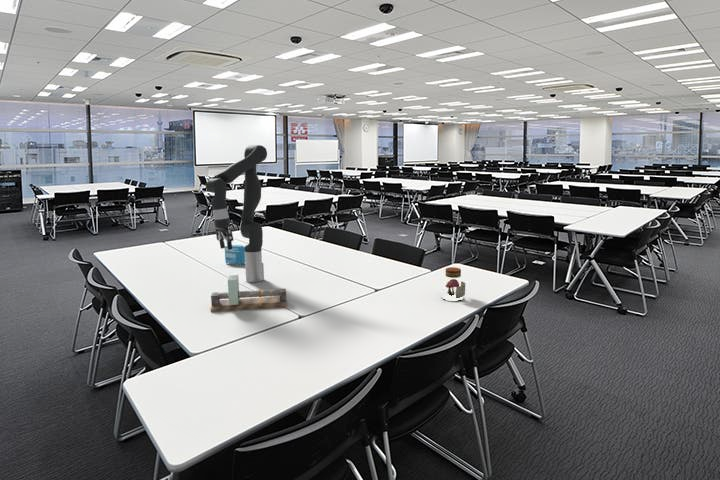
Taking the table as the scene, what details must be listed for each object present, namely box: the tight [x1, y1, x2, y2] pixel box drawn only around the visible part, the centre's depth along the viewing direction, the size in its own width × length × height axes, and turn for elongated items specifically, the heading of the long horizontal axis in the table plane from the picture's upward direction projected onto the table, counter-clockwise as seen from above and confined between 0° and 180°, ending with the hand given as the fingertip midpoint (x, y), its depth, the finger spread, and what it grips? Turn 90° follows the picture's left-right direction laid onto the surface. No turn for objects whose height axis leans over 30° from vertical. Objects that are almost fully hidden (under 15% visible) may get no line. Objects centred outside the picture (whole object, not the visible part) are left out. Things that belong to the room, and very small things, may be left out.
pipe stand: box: [210, 288, 288, 313], centre depth 210 cm, size 34×12×7 cm, turn 100°
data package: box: [224, 244, 245, 265], centre depth 289 cm, size 12×4×12 cm, turn 75°
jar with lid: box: [445, 266, 466, 298], centre depth 218 cm, size 12×13×15 cm
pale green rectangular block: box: [227, 274, 241, 305], centre depth 208 cm, size 4×8×12 cm, turn 10°
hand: (226, 248), depth 229 cm, fingers open, 8 cm apart
